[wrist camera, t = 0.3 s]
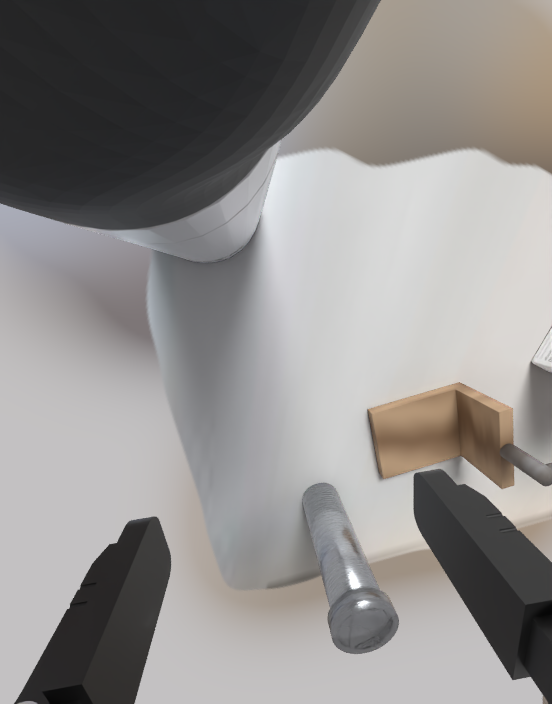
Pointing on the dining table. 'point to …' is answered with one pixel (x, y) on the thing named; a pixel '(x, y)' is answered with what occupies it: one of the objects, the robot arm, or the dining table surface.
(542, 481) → the block
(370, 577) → the steel pin
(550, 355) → the ink box
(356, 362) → the dining table surface
